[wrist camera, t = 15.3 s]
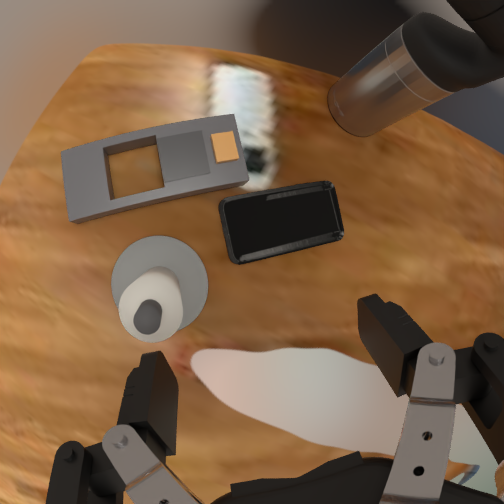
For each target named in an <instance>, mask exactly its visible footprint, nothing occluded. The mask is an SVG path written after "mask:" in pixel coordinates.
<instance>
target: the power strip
mask: <svg viewBox="0 0 504 504" xmlns="http://www.w3.org/2000/svg"><path fill="white" fill-rule="evenodd" d="M154 144H157V148H158V153H159V159H160V165H161V170H162V176H163V181H164V186H165V187H164V188H159V189H155V190H151V191H146V192H142V193H138V194H134V195H130V196H126V197H122V198H118V199H114V194H113V188H112V181H111V175H110V168H109V160H108V155H112V154H116V153H120V152H124V151H128V150H132V149H136V148H141V147H145V146H150V145H154ZM61 159H62V170H63V180H64V188H65V196H66V204H67V210H68V217H69V221H70V222H73V223H77V224H78V223H82V222H85V221H89V220H92V219H96V218H100V217H104V216H107V215H111V214H115V213H119V212H123V211H127V210H131V209H135V208H139V207H143V206H148V205H152V204H156V203H160V202H165V201H169V200H174V199H178V198H183V197H187V196H192V195H197V194H202V193H207V192H212V191H217V190H222V189H227V188H232V187H237V186H243V185H244V184H245V183H247V182H248V181H249V176H248V171H247V167H246V163H245V159H244V154H243V150H242V146H241V142H240V137H239V133H238V129H237V125H236V120H235V116H234V114H229V115H221V116H214V117H207V118H200V119H194V120H188V121H182V122H177V123H171V124H166V125H161V126H156V127H151V128H147V129H142V130H138V131H133V132H129V133H125V134H121V135H117V136H113V137H109V138H105V139H102V140H98V141H94V142H91V143H87V144H84V145H80V146H77V147H74V148H71V149H67V150H64V151H61Z"/></svg>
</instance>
